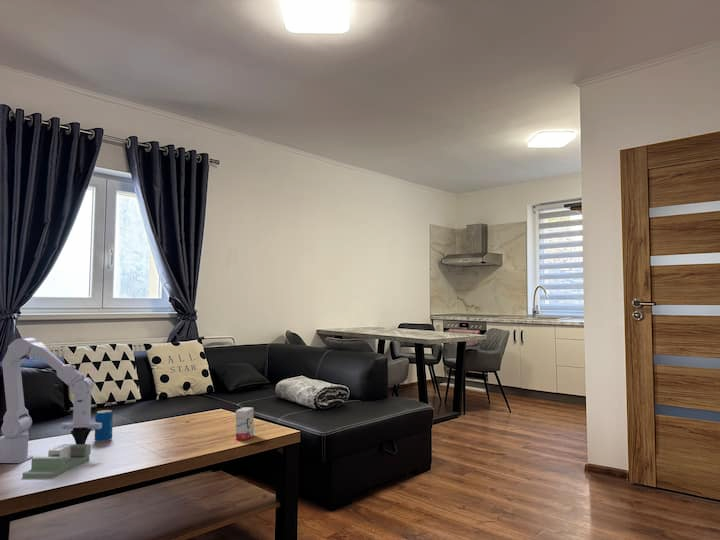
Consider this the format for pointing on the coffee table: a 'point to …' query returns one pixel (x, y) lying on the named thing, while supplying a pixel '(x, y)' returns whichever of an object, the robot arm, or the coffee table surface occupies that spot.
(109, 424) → the beverage can
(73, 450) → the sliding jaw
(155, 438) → the coffee table surface
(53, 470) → the vise
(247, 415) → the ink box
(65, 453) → the steel block
